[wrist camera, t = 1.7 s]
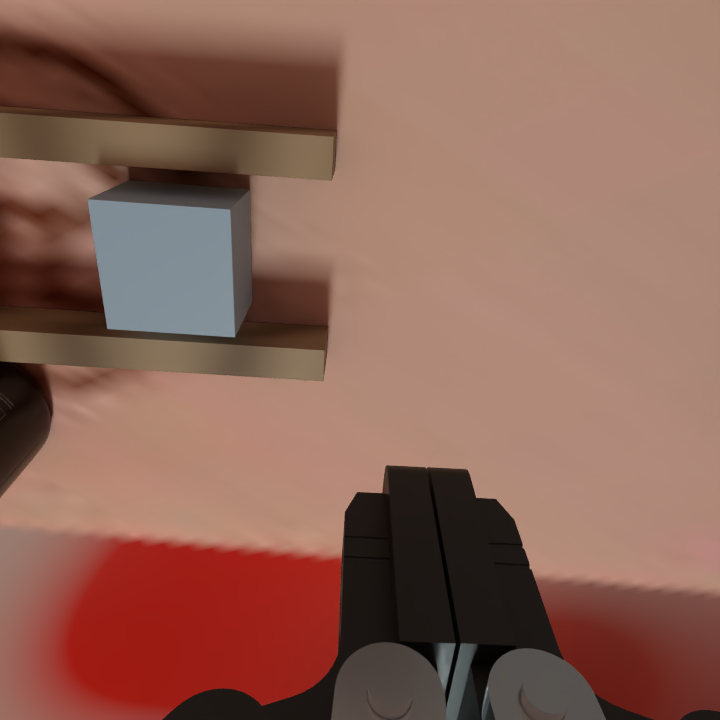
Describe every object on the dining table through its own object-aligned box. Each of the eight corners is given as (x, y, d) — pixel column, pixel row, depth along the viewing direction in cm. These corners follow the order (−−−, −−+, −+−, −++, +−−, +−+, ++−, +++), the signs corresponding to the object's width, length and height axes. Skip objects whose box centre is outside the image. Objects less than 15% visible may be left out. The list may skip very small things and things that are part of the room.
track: (336, 130, 22) (331, 141, 18) (326, 355, 26) (321, 398, 23) (-180, 92, 21) (-289, 96, 18) (-99, 328, 26) (-172, 369, 22)
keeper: (250, 188, 23) (230, 209, 20) (253, 300, 25) (235, 337, 22) (129, 180, 23) (87, 199, 19) (143, 292, 25) (107, 328, 22)
